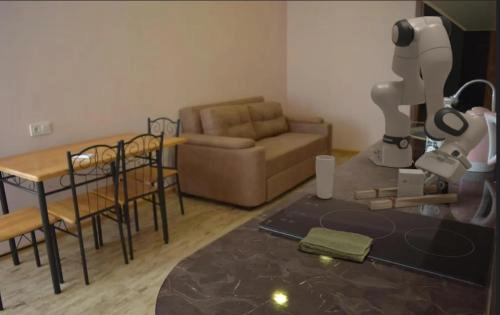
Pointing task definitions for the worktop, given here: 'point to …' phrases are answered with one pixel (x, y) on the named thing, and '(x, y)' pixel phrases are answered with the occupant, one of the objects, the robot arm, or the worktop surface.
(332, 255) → the washcloth
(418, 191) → the small box
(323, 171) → the drinking glass
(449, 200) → the wooden track
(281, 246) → the worktop surface
